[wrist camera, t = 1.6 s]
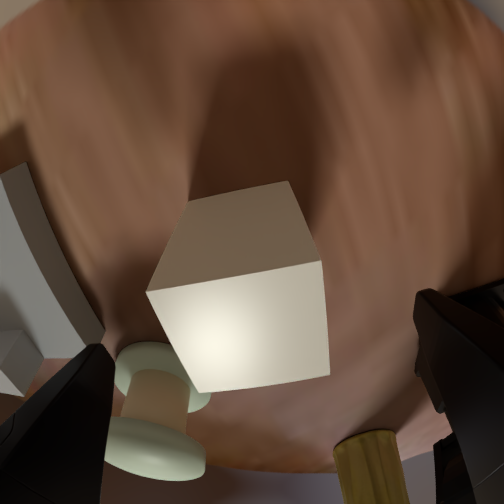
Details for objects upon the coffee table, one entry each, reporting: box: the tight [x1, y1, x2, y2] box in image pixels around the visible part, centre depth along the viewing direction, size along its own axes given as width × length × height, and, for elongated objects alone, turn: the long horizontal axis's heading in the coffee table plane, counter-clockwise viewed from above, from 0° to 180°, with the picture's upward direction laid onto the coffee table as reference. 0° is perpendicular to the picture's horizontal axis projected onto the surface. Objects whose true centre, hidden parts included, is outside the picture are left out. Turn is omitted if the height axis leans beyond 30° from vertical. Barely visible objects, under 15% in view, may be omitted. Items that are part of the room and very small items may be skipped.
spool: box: [105, 341, 211, 481], centre depth 15 cm, size 6×6×6 cm
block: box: [146, 181, 330, 393], centre depth 10 cm, size 4×4×6 cm
